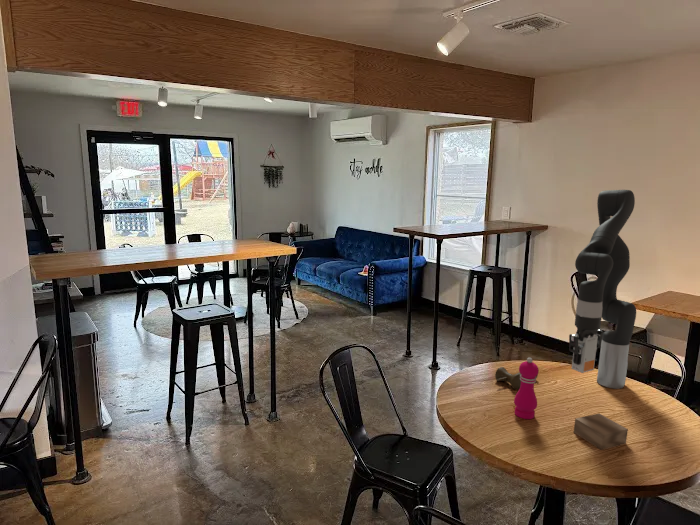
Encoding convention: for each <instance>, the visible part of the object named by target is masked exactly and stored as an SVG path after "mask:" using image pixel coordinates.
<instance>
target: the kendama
mask: <svg viewBox="0 0 700 525" xmlns="http://www.w3.org/2000/svg"><path fill="white" fill-rule="evenodd" d="M520 375H521V373H520V372H517V373H515V374H511V373H510V372H508V370H507V368H505V367H504V366H500V367H498V368H497V369H496V371H495V373H494V378H495V380H496V381H497V382H507V383H509V384H510V386H511V387H512V389H513V390H519V389H520V386H521V380H520ZM538 375H539V374H538ZM538 375H537V376H536V379H538Z"/></svg>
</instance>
